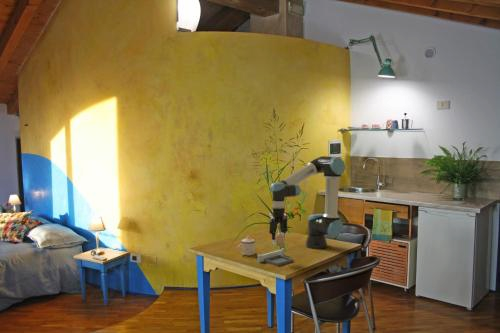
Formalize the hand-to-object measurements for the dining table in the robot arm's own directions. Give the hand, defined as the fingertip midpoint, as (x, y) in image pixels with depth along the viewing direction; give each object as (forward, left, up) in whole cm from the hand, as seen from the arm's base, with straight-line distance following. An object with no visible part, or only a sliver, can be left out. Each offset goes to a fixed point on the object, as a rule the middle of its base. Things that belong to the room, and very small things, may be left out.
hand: (278, 243), depth 255 cm
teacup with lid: (+4, -26, -12) cm, 29 cm away
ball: (0, 0, +3) cm, 3 cm away
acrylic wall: (-1, -7, -11) cm, 14 cm away
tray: (0, 0, -11) cm, 11 cm away
